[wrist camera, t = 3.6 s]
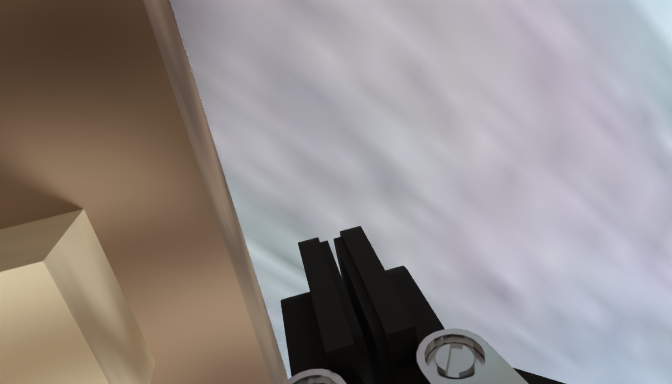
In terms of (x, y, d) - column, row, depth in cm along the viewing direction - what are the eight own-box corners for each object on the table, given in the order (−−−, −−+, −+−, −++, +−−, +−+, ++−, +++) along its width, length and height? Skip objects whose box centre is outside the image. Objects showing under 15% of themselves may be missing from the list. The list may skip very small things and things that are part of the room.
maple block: (155, 362, 16) (137, 437, 13) (-28, 414, 15) (-87, 505, 12) (83, 208, 13) (43, 260, 10) (-139, 263, 12) (-244, 334, 10)
